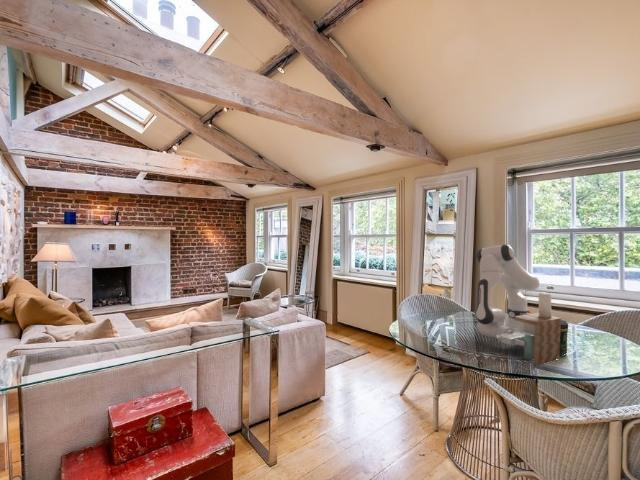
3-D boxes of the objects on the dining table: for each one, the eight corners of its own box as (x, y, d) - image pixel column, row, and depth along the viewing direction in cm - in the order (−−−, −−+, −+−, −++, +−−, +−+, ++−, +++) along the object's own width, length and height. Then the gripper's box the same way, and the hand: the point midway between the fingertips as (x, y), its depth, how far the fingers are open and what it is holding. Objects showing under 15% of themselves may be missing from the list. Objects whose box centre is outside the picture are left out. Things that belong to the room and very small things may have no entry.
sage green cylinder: (527, 354, 172) (528, 333, 172) (538, 358, 168) (539, 336, 167) (521, 356, 170) (522, 334, 170) (531, 360, 165) (532, 337, 165)
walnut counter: (535, 351, 178) (536, 312, 177) (559, 359, 167) (560, 318, 166) (513, 357, 169) (514, 316, 168) (536, 366, 158) (538, 322, 157)
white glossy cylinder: (540, 314, 172) (539, 292, 173) (552, 316, 168) (552, 293, 169) (537, 316, 169) (537, 293, 169) (550, 318, 165) (549, 294, 165)
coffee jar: (561, 357, 169) (562, 323, 168) (544, 352, 176) (546, 319, 175) (569, 354, 174) (570, 321, 173) (552, 349, 181) (554, 317, 180)
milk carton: (532, 344, 188) (534, 313, 188) (536, 348, 182) (538, 316, 181) (519, 343, 191) (520, 311, 190) (522, 347, 184) (523, 314, 183)
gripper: (493, 331, 176) (519, 339, 164) (516, 326, 185) (541, 334, 173) (493, 342, 176) (518, 351, 164) (516, 337, 185) (541, 345, 173)
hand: (530, 342), depth 168 cm, fingers open, 8 cm apart
